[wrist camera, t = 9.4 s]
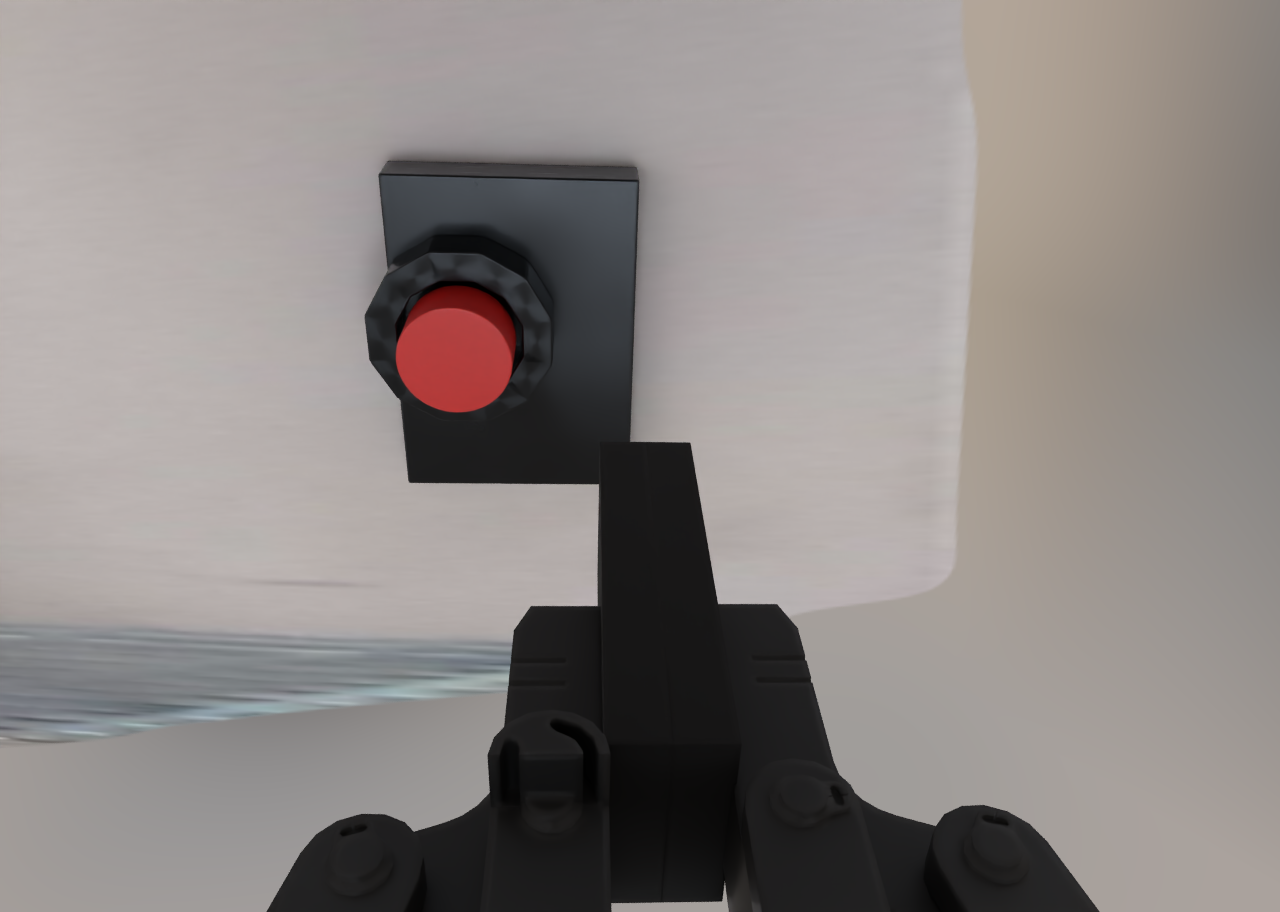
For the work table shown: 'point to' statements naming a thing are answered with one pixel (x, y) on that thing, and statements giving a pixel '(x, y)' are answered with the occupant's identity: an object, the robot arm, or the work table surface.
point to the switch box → (516, 311)
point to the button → (456, 349)
